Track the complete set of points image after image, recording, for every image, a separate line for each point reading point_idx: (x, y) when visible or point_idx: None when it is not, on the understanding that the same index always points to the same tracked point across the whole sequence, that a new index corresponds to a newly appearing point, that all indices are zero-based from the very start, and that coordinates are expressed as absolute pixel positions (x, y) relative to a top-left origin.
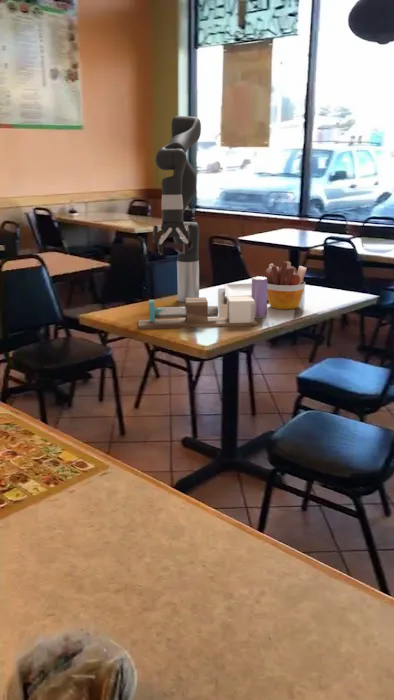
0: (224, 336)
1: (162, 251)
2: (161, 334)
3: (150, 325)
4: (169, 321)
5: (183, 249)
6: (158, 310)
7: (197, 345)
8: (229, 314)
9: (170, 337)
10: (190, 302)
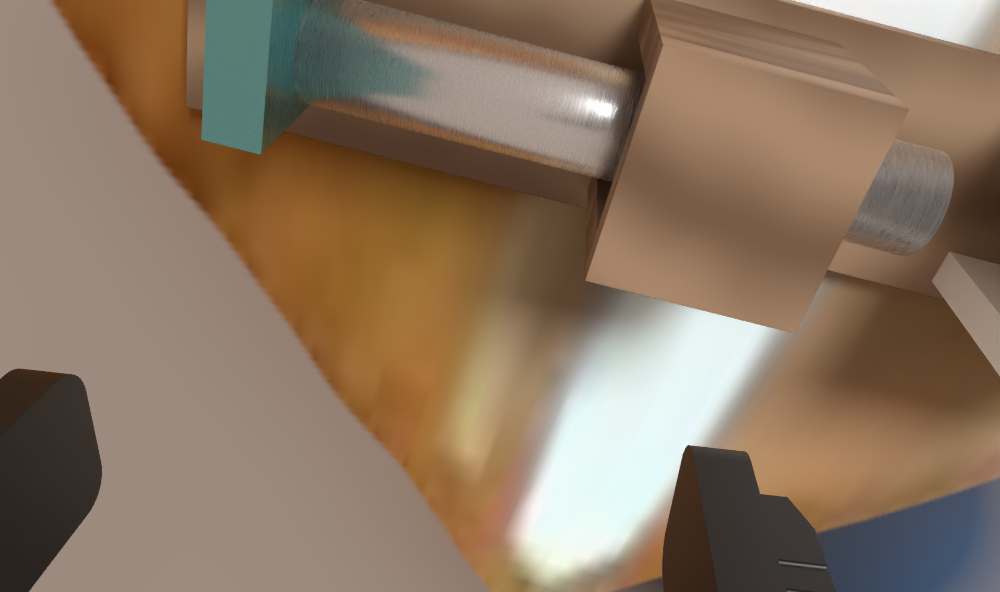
0: None
1: (38, 553)
2: (349, 304)
3: None
4: None
5: (698, 538)
6: (332, 106)
7: (502, 560)
8: (970, 298)
9: (394, 385)
10: (623, 288)
